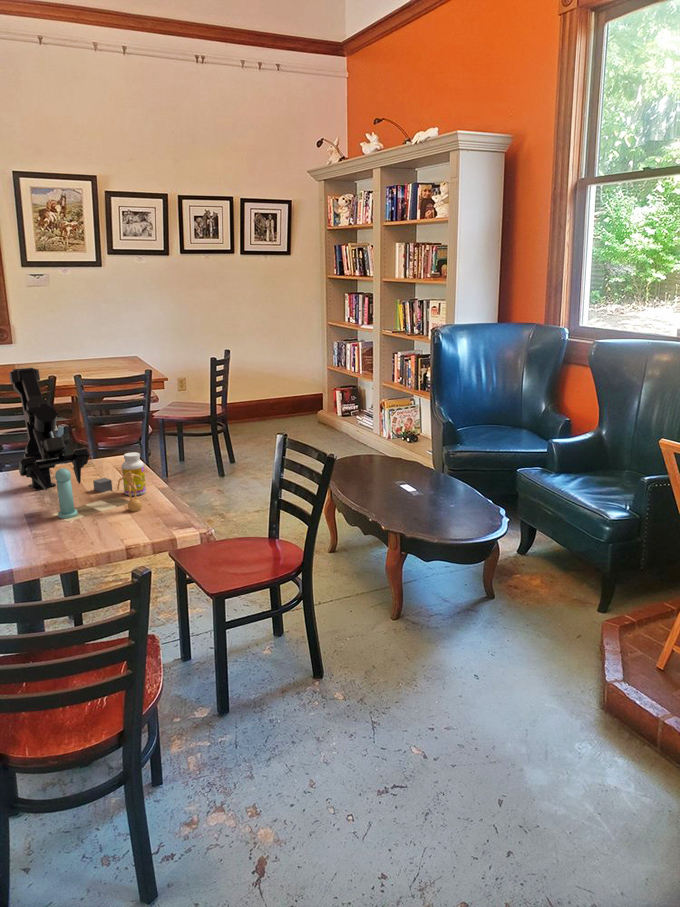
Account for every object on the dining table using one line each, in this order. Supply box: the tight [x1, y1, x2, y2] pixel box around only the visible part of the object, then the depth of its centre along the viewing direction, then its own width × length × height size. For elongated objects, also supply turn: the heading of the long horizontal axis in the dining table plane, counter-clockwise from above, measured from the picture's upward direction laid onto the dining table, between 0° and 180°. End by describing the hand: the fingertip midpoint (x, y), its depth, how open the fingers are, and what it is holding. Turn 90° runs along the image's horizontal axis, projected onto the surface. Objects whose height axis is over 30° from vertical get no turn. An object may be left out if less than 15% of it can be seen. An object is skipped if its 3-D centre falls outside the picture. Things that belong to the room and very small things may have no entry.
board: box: [51, 495, 130, 523], centre depth 202 cm, size 10×21×1 cm, turn 139°
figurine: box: [116, 471, 147, 513], centre depth 199 cm, size 8×6×12 cm
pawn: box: [54, 467, 78, 520], centre depth 194 cm, size 5×5×14 cm
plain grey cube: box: [92, 477, 113, 494], centre depth 217 cm, size 4×4×4 cm
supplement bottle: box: [121, 451, 147, 497], centre depth 215 cm, size 7×7×13 cm
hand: (63, 486), depth 194 cm, fingers open, 9 cm apart
